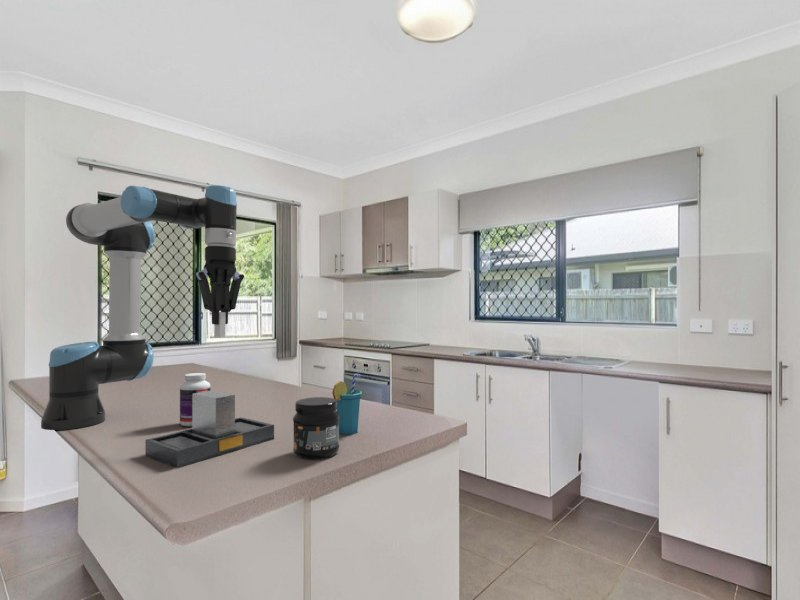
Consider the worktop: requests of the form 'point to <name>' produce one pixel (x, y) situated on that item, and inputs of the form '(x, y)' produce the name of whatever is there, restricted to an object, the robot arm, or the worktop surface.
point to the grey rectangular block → (213, 414)
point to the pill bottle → (192, 385)
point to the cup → (347, 406)
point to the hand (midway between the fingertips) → (219, 337)
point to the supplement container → (316, 428)
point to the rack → (206, 443)
